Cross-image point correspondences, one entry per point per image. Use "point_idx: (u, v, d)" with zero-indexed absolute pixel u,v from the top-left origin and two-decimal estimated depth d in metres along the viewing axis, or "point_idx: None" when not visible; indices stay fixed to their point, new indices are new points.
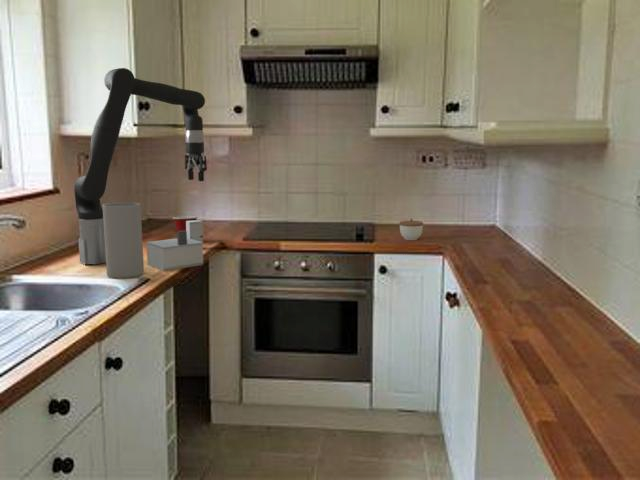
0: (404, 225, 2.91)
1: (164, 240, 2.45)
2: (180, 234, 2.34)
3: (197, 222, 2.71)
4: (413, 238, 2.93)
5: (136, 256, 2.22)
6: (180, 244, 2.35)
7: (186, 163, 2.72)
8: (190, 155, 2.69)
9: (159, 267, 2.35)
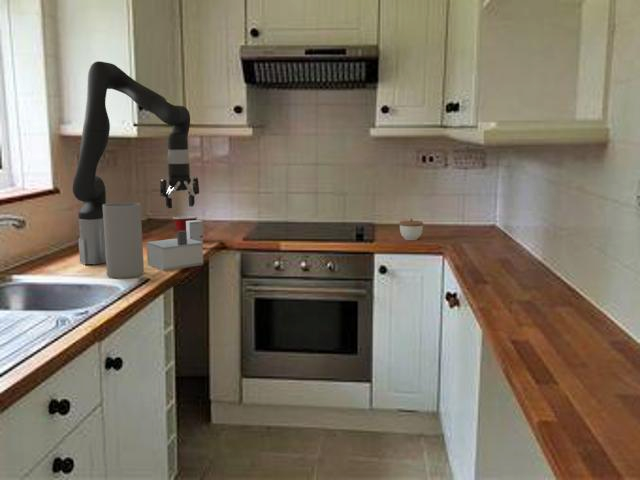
0: (404, 225, 2.91)
1: (164, 240, 2.45)
2: (180, 234, 2.34)
3: (197, 222, 2.71)
4: (413, 238, 2.93)
5: (136, 256, 2.22)
6: (180, 244, 2.35)
7: None
8: (175, 179, 2.30)
9: (159, 267, 2.35)
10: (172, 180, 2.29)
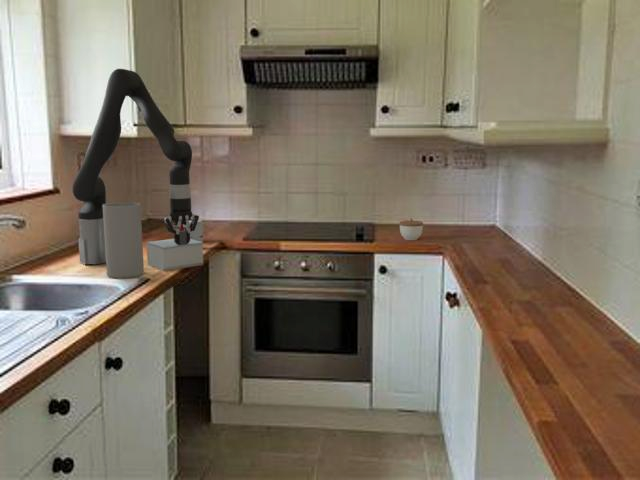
0: (404, 225, 2.91)
1: (164, 240, 2.45)
2: (180, 234, 2.34)
3: (197, 222, 2.71)
4: (413, 238, 2.93)
5: (136, 256, 2.22)
6: (180, 244, 2.35)
7: None
8: (177, 213, 2.32)
9: (159, 267, 2.35)
10: (173, 215, 2.31)
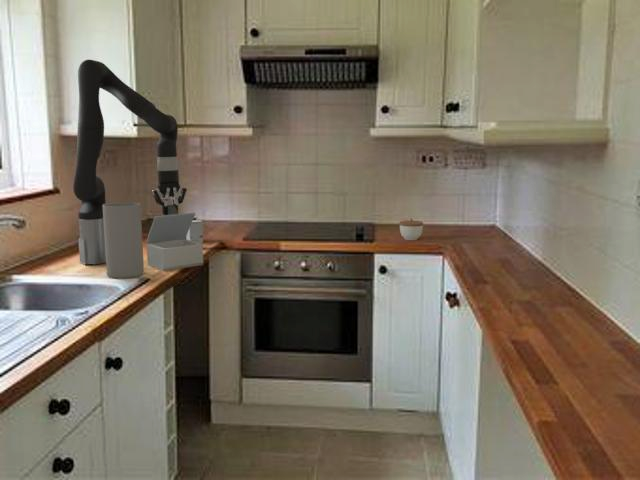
0: (404, 225, 2.91)
1: None
2: (168, 207, 2.39)
3: (197, 222, 2.71)
4: (413, 238, 2.93)
5: (136, 256, 2.22)
6: (172, 214, 2.38)
7: None
8: (165, 185, 2.37)
9: (159, 267, 2.35)
10: (161, 187, 2.37)
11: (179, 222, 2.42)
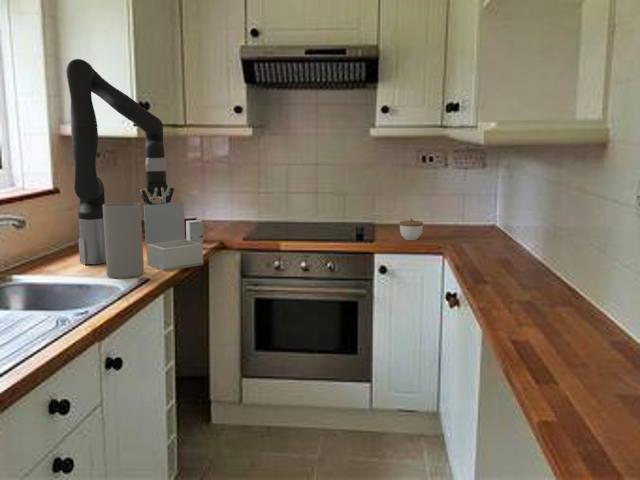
0: (404, 225, 2.91)
1: None
2: (156, 203, 2.47)
3: (197, 222, 2.71)
4: (413, 238, 2.93)
5: (136, 256, 2.22)
6: (160, 204, 2.44)
7: None
8: (153, 185, 2.46)
9: (159, 267, 2.35)
10: (149, 187, 2.45)
11: (171, 214, 2.47)
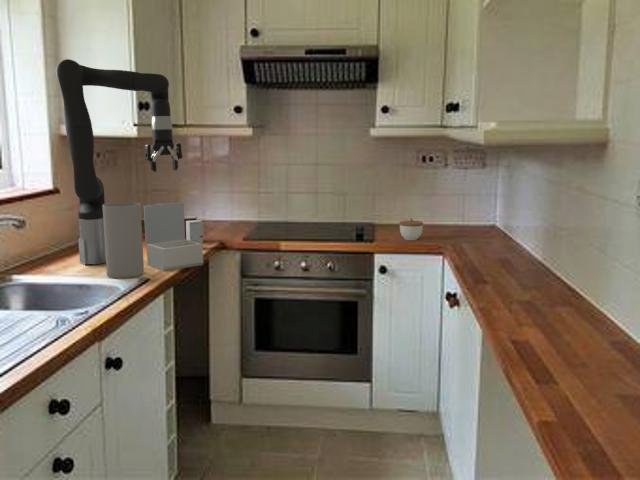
0: (404, 225, 2.91)
1: None
2: (156, 203, 2.47)
3: (197, 222, 2.71)
4: (413, 238, 2.93)
5: (136, 256, 2.22)
6: (160, 204, 2.44)
7: (150, 153, 2.44)
8: (159, 144, 2.46)
9: (159, 267, 2.35)
10: (156, 145, 2.45)
11: (171, 214, 2.47)
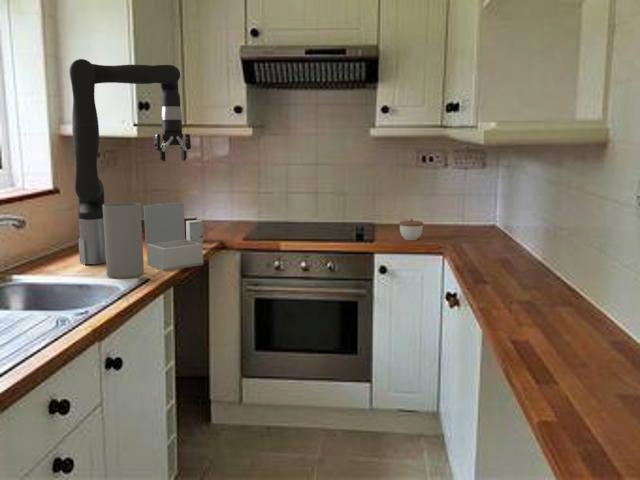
0: (404, 225, 2.91)
1: None
2: (156, 203, 2.47)
3: (197, 222, 2.71)
4: (413, 238, 2.93)
5: (136, 256, 2.22)
6: (160, 204, 2.44)
7: None
8: (169, 134, 2.48)
9: (159, 267, 2.35)
10: (165, 135, 2.47)
11: (171, 214, 2.47)
